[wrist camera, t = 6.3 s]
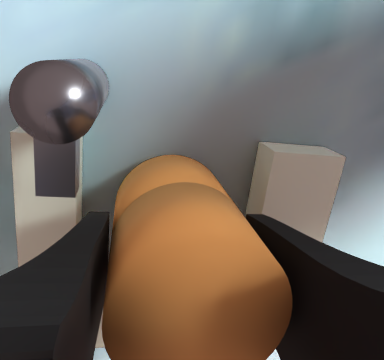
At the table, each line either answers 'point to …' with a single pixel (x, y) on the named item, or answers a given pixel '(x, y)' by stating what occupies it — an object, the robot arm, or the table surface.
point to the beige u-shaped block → (257, 204)
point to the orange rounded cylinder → (189, 271)
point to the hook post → (58, 117)
